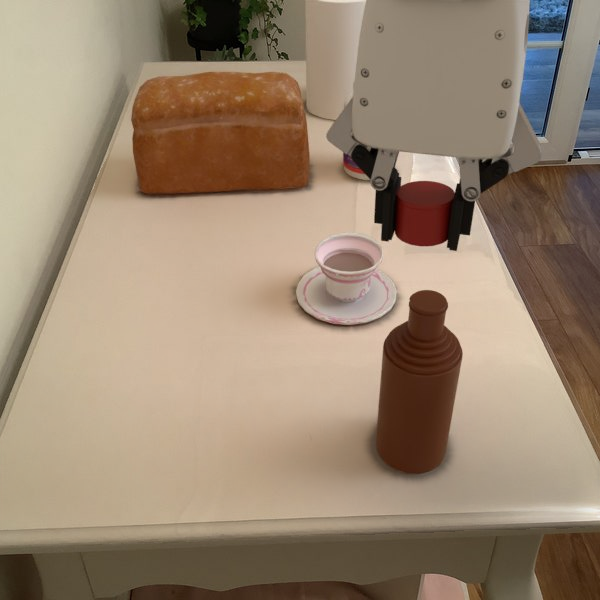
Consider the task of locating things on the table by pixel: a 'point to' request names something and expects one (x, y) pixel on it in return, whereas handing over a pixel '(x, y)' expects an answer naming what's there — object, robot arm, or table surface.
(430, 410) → the bottle
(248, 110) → the bread
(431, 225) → the cap
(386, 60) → the robot arm
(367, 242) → the teacup
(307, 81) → the canister
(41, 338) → the table surface
